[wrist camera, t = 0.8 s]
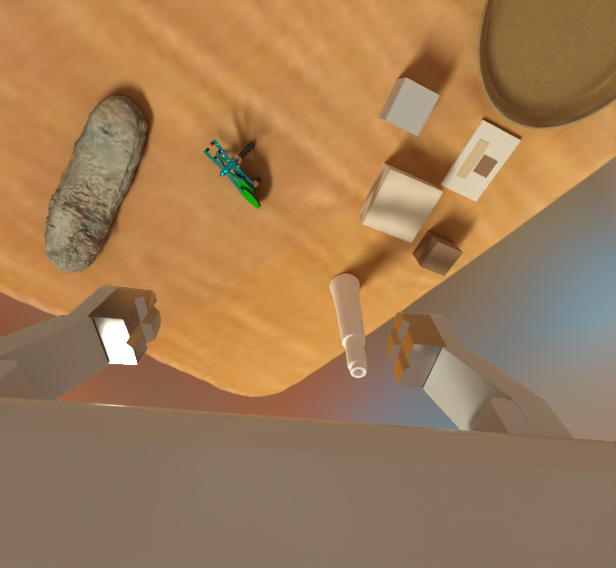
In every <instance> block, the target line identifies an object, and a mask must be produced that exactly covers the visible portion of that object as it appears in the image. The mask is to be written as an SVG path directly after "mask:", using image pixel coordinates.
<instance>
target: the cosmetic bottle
mask: <svg viewBox="0 0 616 568" xmlns="http://www.w3.org/2000/svg"><path fill="white" fill-rule="evenodd" d="M359 290H360V283H359V280H358V279H357V278H356V277H355V276H353V275H351V274H340V275H337V276H336V277H334V278H333V279H332V281H331V283H330V291H331V293H332V296H333V299H334V303H335V307H336V312H337V318H338V324H339V329H340V335H341V340H342V344H343V346H344V347H345V349H346V357H347V365H348V368H349V370H350V372H351V375H352V376H353V377H357V378H360V377H362V376H364V375H365V374H366V368H367V362H366V356H365V351H364V344H365V335H364V327H363V320H362V314H361V306H360V295H359Z"/></svg>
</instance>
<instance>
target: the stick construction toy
mask: <svg viewBox="0 0 616 568" xmlns="http://www.w3.org/2000/svg"><path fill="white" fill-rule="evenodd" d="M210 144H211V146H213V145H214V144H215V145H216V146H217V148H218V149H219V150H218V151H217V152H216V156H215V157H214V158H213V157H212V156H211V155H210V154H209V153H208V151H209V150H210V149H209V148H207V149H206V150H205V151H204V153H205V154H206V155H207V156H208V157H209V158H210V159H211V160H212V161H213V162H214V163H215V164H216V165H217V166H218V167H219V168H220V169H221V170H222V171H221V172H220V174H219V175H220V176H225V175H227V176H228V177H229V179H230V180H231V181H232V182H233V184H234V185H235V186H236V187H237V188H238V190H239V191H240V193H241V194H242V195H243V196H244V198H245V199H246V200H247V201H248V202H249V203H251V204H252V205H253V206H254V207H256V208H257V209H259V208H260V207H261V204H260V202H259V200H258V199H257V197H256V195H257V194H256V191H255V190H254V189H255V188H256V187H257V186H258V185H259V184H258V183H259V182H260V181H261V178H258V179H257V180H254V181H251V180H250V179H249V178H248V177H247V176H246V175H245V174H244V173H243V172H242V171H241V170H240V169H239V168H238V167H237V165H239V164H240V163H241V162H242V160H241V159H242V158H243V157H244V156H245V155H246V154H247V153H248V152H249V151H250V150H251V149H252V148H253V147H254V146H255V144H254V143H253V142H250V143H249V144H248V145H247V146H246V147H245V148H244V149H243V150H242V151H241V152H240V153H239V154H238V155H237V154H235V155H234V156H233V157H232V159H230V158H229V157H228V155H227V154H226V153H225V151H224V150H223V149H222V147H221V146H220V145H219V144H218V142H217V141H216V140H215V139H214V140H213V141H212V142H211V143H210ZM220 153H222V154H223V156H224V157H225V158H224V157H222V156H220ZM217 158H218V160H219V162H218V161H217V160H216V159H217ZM224 162H225V163H227V164H228V165H227V166H225V164H224ZM231 169H232V170H233V172H234V173H232V172H230V170H231ZM237 172H238V173H239V174H241V175H242V176H243V177H242V176H241V175H239V174H238V173H237ZM234 179H235V180H234Z"/></svg>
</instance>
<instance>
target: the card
mask: <svg viewBox="0 0 616 568" xmlns="http://www.w3.org/2000/svg"><path fill="white" fill-rule="evenodd" d="M520 141H521V140H519V139H517V138H516V137H514V136H512V135H510V134H508V133H506V132H504V131H503V130H501V129H499V128H497V127H495V126H493V125H492V124H490V123H488V122H486V121H484V120H481V121H480V123H479V124H478V126H477V127H476V129H475V131H474V132H473V134H472V135H471V137H470V138H469V140H468V141H467V143H466V145H465V146H464V148H463V149H462V151H461V152H460V154H459V155H458V157H457V158H456V160H455V162H454V163H453V165H452V166H451V168H450V169H449V171H448V172H447V174H446V176H445V177H444V179H443V180H442V182H441V183H440V185H442V186H444V187H446V188H448V189H450V190H452V191H455V192H457V193H459V194H461V195H463V196H465V197H467V198H469V199H471V200H474V201H477V199H478V198H479V197H480V195H481V194H482V193H483V191H484V190H485V189H486V187H487V186H488V185H489V183H490V182H491V180H492V179H493V178H494V176H495V175H496V174H497V172H498V171H499V170H500V168H501V167H502V165H503V164H504V163H505V161H506V160H507V159H508V157H509V156H510V155H511V153H512V152H513V150H514V149H515V148H516V146H517V145H518V144H519V142H520Z"/></svg>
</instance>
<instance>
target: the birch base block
mask: <svg viewBox="0 0 616 568" xmlns="http://www.w3.org/2000/svg"><path fill="white" fill-rule="evenodd" d="M442 193H443V191H442V190H440V189H439V188H438V187H436V186H435V185H433V184H432V183H429V182H427V181H425V180H423V179H420V178H418V177H416V176H413V175H411V174H409V173H406V172H404V171H402V170H399V169H397V168H395V167H392V166H390V165H388V164H386V163H384V164H383V166H382V168H381V170H380V172H379V174H378V176H377V178H376V180H375V182H374V184H373V186H372V188H371V190H370V192H369V194H368V196H367V198H366V200H365V202H364V204H363V206H362V208H361V210H360V212H359V216H360V219H361V222H362V224H363V225H366V226H368V227H371V228H374V229H376V230H379V231H381V232H384V233H387V234H389V235H392V236H394V237H397V238H400V239H402V240H405V241H407V242H410V243H411V242H412V241H413V239H414V238H415V236H416V235H417V233H418V231H419V230H420V228H421V227H422V225H423V223H424V222H425V220H426V219H427V217H428V215H429V214H430V212H431V211H432V209H433V208H434V206H435V204H436V203H437V201H438V200H439V198H440V196H441V195H442Z"/></svg>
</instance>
